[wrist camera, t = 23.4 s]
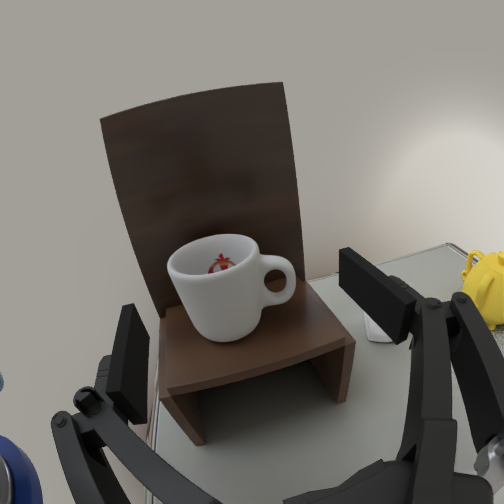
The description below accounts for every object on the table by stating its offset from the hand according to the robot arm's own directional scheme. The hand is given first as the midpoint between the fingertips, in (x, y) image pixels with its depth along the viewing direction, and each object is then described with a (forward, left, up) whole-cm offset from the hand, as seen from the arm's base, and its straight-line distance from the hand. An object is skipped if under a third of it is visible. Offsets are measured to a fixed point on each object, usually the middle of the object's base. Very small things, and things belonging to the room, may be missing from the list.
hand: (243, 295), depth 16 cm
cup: (+4, +6, -8) cm, 11 cm away
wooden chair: (+3, +6, -20) cm, 21 cm away
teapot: (+36, -19, -20) cm, 46 cm away
